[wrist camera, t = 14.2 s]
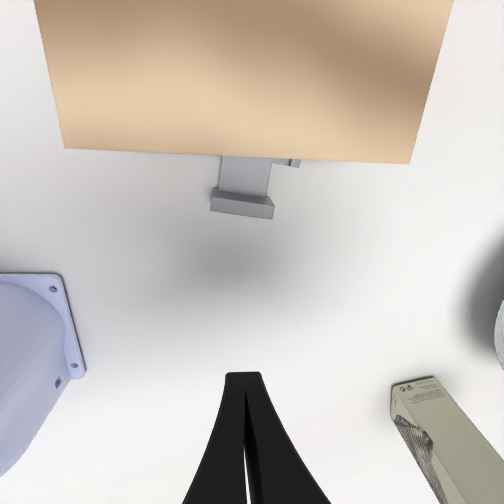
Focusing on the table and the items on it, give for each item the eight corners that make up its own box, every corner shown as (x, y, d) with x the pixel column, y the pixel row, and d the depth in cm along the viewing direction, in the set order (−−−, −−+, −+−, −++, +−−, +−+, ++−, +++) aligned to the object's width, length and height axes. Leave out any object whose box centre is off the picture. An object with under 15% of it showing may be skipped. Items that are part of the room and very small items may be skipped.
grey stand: (283, 210, 19) (302, 238, 14) (193, 197, 18) (181, 221, 13) (323, 30, 15) (368, -17, 10) (210, 2, 14) (202, -64, 9)
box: (390, 383, 27) (518, 584, 15) (435, 374, 27) (599, 568, 15) (389, 418, 29) (500, 617, 17) (431, 410, 29) (570, 603, 17)
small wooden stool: (343, 151, 17) (409, 164, 11) (127, 140, 16) (64, 148, 10) (370, -3, 14) (481, -106, 8) (107, -31, 13) (-4, -179, 7)
